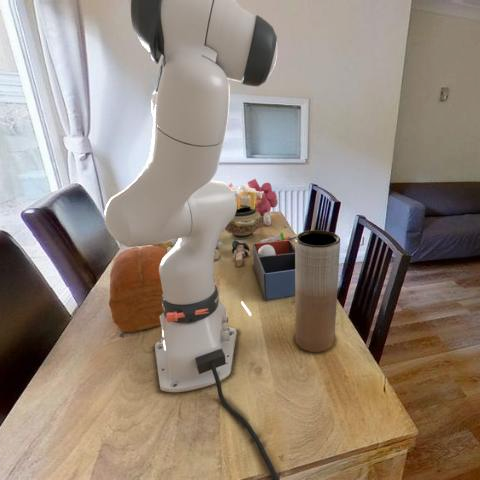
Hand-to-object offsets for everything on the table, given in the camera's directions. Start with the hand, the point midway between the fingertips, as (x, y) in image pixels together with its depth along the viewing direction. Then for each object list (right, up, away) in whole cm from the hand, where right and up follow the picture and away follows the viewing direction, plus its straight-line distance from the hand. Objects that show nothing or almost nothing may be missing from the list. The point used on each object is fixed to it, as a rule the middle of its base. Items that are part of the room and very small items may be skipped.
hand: (207, 182), depth 101 cm
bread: (-13, -38, -11) cm, 41 cm away
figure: (+2, -3, +37) cm, 37 cm away
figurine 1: (-21, -20, +32) cm, 43 cm away
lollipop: (+22, -28, +15) cm, 38 cm away
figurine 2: (-7, -17, +26) cm, 32 cm away
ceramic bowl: (+1, -17, +41) cm, 44 cm away
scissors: (+22, -19, +38) cm, 48 cm away
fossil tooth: (-9, -27, +16) cm, 33 cm away
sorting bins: (+23, -32, +5) cm, 40 cm away
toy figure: (+6, -26, +19) cm, 33 cm away
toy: (0, -2, +57) cm, 57 cm away
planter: (+36, -44, -23) cm, 61 cm away
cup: (+12, -22, +24) cm, 35 cm away
